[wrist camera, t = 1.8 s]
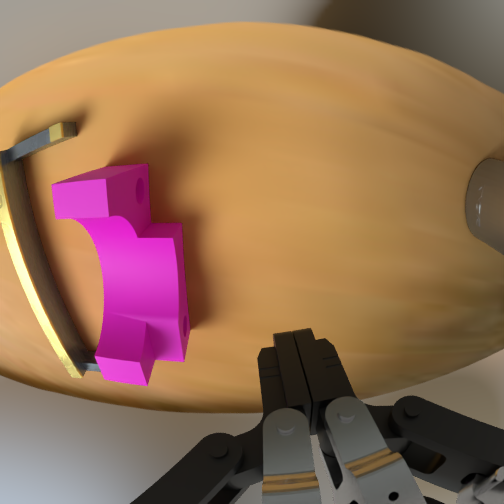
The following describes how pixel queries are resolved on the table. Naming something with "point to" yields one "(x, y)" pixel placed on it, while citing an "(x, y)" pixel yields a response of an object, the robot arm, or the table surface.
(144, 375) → the toy block
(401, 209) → the table surface
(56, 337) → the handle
